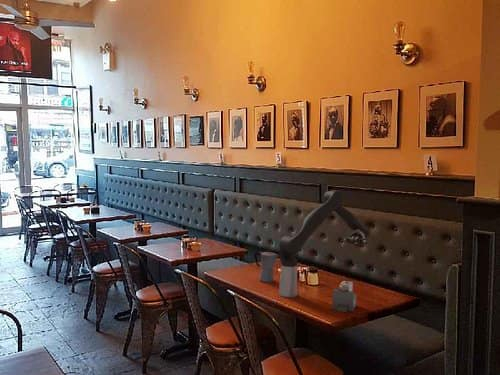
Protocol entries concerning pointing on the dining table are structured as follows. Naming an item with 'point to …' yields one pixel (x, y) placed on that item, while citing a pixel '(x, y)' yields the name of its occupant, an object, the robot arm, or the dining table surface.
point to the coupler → (344, 299)
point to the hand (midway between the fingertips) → (352, 242)
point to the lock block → (347, 285)
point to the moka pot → (266, 265)
